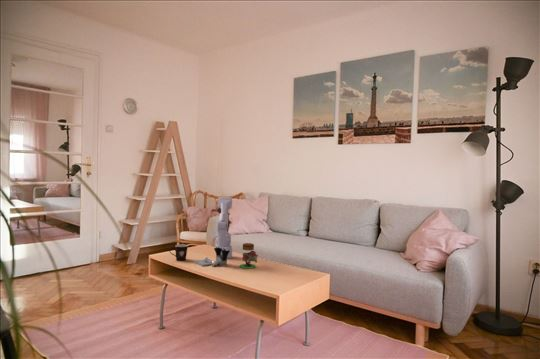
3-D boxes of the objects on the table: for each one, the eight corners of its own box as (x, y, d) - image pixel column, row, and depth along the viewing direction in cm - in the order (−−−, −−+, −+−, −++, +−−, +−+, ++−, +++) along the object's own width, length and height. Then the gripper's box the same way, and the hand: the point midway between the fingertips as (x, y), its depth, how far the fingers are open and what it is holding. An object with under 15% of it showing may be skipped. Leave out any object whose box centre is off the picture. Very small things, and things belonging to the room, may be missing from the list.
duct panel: (208, 260, 251) (208, 254, 251) (217, 264, 242) (217, 258, 242) (194, 262, 244) (194, 256, 244) (202, 266, 235) (202, 260, 235)
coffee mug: (189, 258, 254) (189, 244, 254) (184, 261, 246) (185, 247, 245) (173, 257, 255) (173, 243, 255) (168, 260, 247) (168, 246, 246)
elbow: (222, 263, 244) (222, 254, 244) (226, 265, 240) (227, 256, 240) (210, 265, 238) (210, 256, 238) (214, 267, 234) (214, 258, 234)
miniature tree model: (255, 269, 232) (256, 246, 231) (236, 268, 234) (237, 245, 234) (259, 265, 243) (260, 243, 243) (241, 263, 246) (242, 241, 245)
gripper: (211, 238, 243) (210, 258, 244) (222, 241, 232) (222, 262, 232) (220, 237, 248) (219, 256, 248) (231, 240, 237) (231, 261, 237)
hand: (221, 259), depth 240 cm, fingers open, 7 cm apart
